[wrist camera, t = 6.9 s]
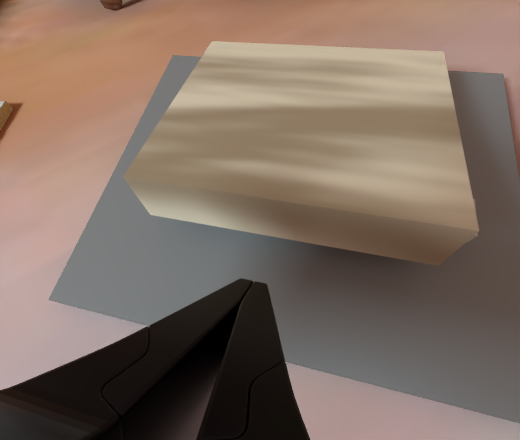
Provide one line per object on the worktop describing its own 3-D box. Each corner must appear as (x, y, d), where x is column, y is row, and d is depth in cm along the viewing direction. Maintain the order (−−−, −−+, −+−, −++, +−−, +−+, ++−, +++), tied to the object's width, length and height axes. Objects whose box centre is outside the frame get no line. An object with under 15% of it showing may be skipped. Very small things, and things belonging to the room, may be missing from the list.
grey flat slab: (538, 426, 12) (589, 443, 10) (62, 302, 16) (29, 296, 14) (493, 86, 19) (516, 56, 17) (177, 66, 24) (167, 40, 22)
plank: (479, 231, 10) (443, 51, 16) (122, 176, 12) (212, 41, 18) (438, 266, 12) (421, 99, 18) (150, 214, 15) (220, 84, 21)
